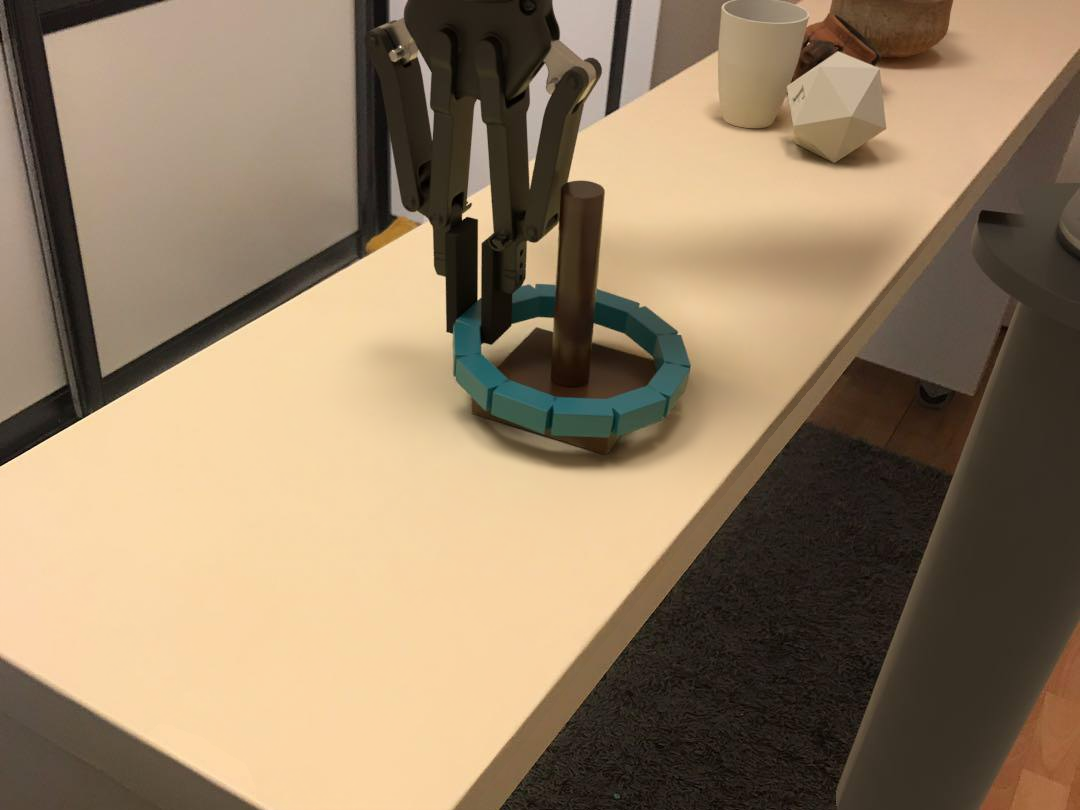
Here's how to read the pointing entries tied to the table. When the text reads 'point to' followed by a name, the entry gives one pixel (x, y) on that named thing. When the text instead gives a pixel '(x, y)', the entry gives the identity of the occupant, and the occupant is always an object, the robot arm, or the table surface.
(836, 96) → the die
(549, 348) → the post
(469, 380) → the ring
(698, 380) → the table surface
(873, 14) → the bowl
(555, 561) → the table surface
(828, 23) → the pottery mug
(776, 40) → the cup
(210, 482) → the table surface
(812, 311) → the table surface
